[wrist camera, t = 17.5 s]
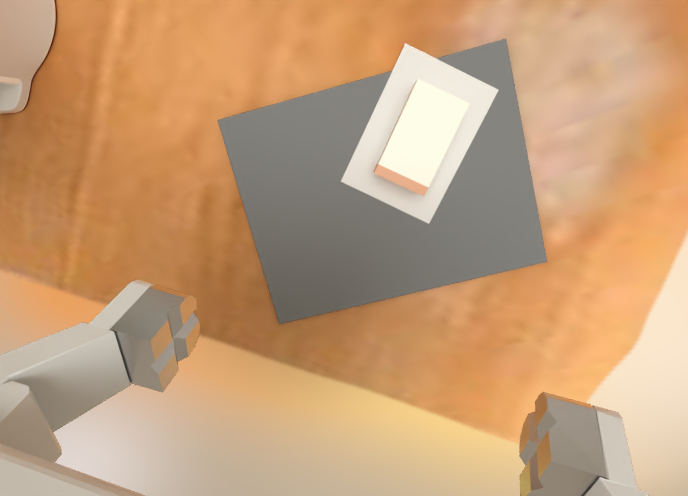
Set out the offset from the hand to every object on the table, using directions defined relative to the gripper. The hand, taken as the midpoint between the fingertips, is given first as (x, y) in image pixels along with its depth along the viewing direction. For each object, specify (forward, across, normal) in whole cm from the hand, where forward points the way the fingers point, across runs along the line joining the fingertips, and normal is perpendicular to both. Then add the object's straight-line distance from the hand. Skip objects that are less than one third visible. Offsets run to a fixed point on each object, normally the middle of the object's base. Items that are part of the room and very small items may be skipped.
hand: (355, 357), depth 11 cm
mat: (+31, -4, -14) cm, 34 cm away
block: (+33, -1, -5) cm, 33 cm away
